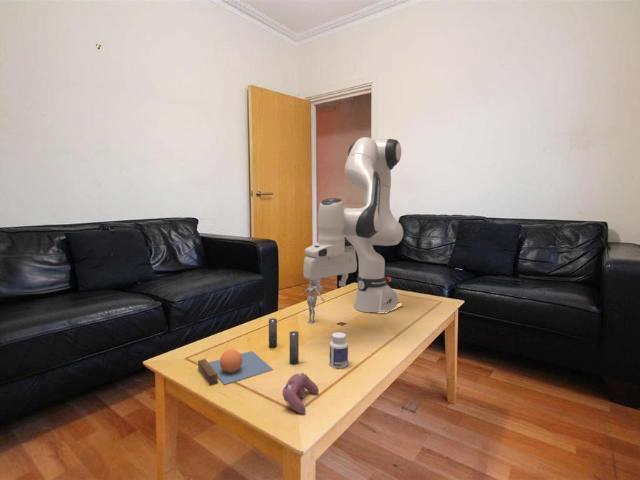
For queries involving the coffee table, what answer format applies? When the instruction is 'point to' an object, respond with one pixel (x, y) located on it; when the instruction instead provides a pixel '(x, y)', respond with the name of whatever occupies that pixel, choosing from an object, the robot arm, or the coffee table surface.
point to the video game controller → (298, 391)
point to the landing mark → (242, 368)
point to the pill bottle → (338, 350)
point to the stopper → (207, 372)
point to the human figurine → (312, 299)
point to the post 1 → (272, 333)
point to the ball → (231, 361)
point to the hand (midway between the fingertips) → (331, 288)
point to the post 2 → (294, 347)
